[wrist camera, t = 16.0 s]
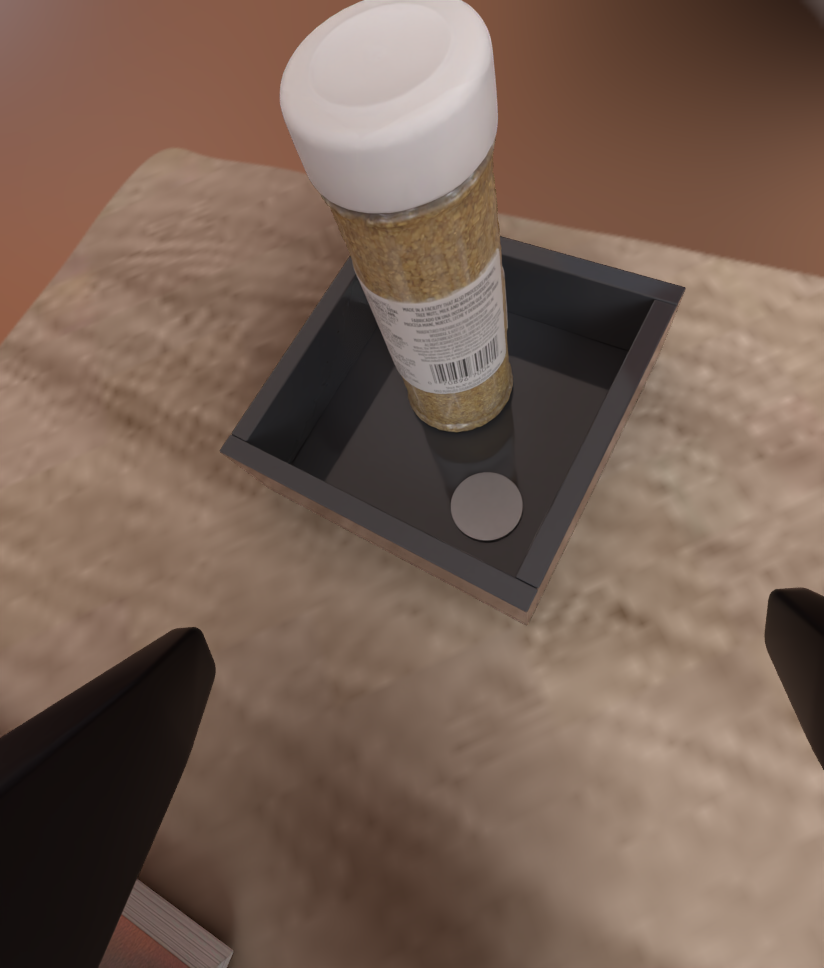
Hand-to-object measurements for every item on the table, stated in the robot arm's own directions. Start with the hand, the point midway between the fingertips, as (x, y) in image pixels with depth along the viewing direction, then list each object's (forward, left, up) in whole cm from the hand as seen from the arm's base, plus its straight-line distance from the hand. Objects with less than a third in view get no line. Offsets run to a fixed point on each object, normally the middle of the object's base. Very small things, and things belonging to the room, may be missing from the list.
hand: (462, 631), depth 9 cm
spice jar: (+9, +6, -12) cm, 16 cm away
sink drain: (+5, +3, -12) cm, 13 cm away
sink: (+8, +6, -12) cm, 16 cm away
